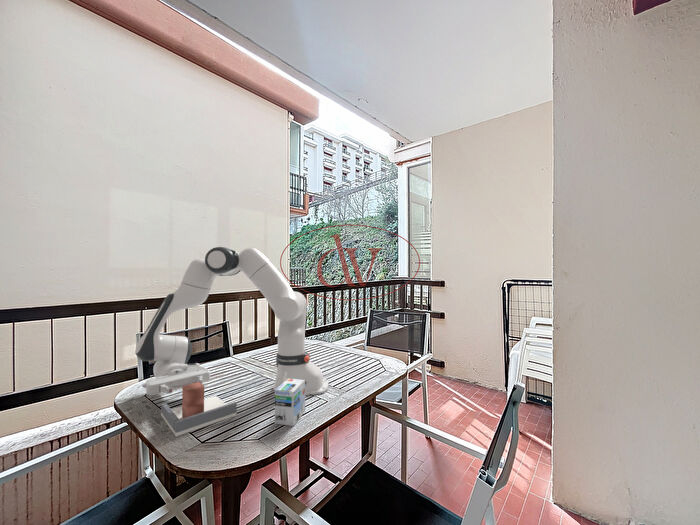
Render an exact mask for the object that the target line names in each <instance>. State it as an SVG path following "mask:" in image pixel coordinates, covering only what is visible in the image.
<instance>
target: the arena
mask: <svg viewBox="0 0 700 525" xmlns="http://www.w3.org/2000/svg"><path fill="white" fill-rule="evenodd" d="M160 405H161V406H160V407H161V408H160V416H161V417H162V419H163V421H164V422H165V423H166V425H167V426H168V428H169V429H170V430H171V432H172V433H173V434H174V436H175V437H178V436H181V435H184V434H187V433H191V432H192V431H196V430H198V429H202V428H205V427H207V426H210V425H213V424H216V423H218V422H222V421H225V420H226V419H227V420H228V419H231V418H232V417H236V416H237V413H238V412H237V402H231V403H228V404H227V403H225V402H224V401H223V400H222V399H221V398H219V397H218V396H217V395H214V396H211V397H207V398H204V412H202V413H199V414H196V415H193V416H190V417H186V418H182V405H180V406H177V407H173V408H171V407H170V406H169V404H168V403H167V402H161V404H160Z"/></svg>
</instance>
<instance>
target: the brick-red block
mask: <svg viewBox="0 0 700 525" xmlns="http://www.w3.org/2000/svg"><path fill="white" fill-rule="evenodd" d="M181 390H182V396H181V397H182V398H181V399H182V401H181V402H182V403H181V406H182V418H186V417H190V416H193V415H196V414H199V413H202V412H204V399H205V385H204V384H203V383H202V384H201V383H200V382H196V383H192V384H188V385H184V386H183V387H182V388H181Z"/></svg>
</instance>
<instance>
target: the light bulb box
mask: <svg viewBox="0 0 700 525" xmlns="http://www.w3.org/2000/svg"><path fill="white" fill-rule="evenodd" d="M305 412H306V395H305V380H298V379H289V378H288V379H287V380H286V381H285V382H283V383H282V384H281V385H280V386H279V387H278V388H277V389H276V390H274V425H282V426H288V427H289V426H291V427H294V426H295V425H296V424H297V423H298V421H299V420H300V418H301V417H302V416H303V415H304V414H305Z"/></svg>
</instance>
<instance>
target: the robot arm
mask: <svg viewBox="0 0 700 525" xmlns="http://www.w3.org/2000/svg"><path fill="white" fill-rule="evenodd" d="M240 272H242V273H244V274H245V275H246V276H247V278H248V279H249V281H251V282H252V283H253V285H254V286H255V287H256V289H258V290H259V291H260V293H261V294H262V295H263V297H264V298H265V300H266V302H267V303H268V305H269V306H270V308H271V309H272V311H273V312H274V315H275V317H276V318H277V319H278V320H279V325H278V332H277V353H276V357H275V363H276V376H275V381H274V383H273V384H274V385H273V388H272V389H273V390H274V391H275V390H276V389H277V388H278V387H279V386H280V385H281V384H282V383H283V382H285V381H286V380H287V379H288V378H289V379H298V380H305V396H308V395H309V396H310V394H311V395H322V394H324V393H326V392H327V391H328V389H329V381H328V380H327V378H324V376H323V371H322V369H321V368H320V367H318V366H317V365H316V364H314V363H313V362H312V361H310V358H311V357H310V356H311V355H310V352H307V351H305V350H306V345H305V344H306V339H305V338H306V336H305V334H306V323H307V311H308V310H307V307H308V306H307V302H308V301H307V299H306V296H304V294H303V293H301V292H300V291H294V290H293V289H292V287H291V286H290V284H289V283H288V282H287V280H286V278H285V277H284V275H283V274H282V273H281V272H280V271H279V269H277V267H276V266H275V265H274V264H273V263H272V261H270V260H269V258H268V257H267V256H266V255H265V254H263V253H262V252H261V251H260V250H258V249H257V248H255V247H246V248H245V249H243V250H241V251H240V252H237V251H236V250H233V249H231V248H228V247H223V246H217V247H213V248H211V249H209V250H208V251H207V252H206V255H205V257H204V258H196V259H193V260H191V262H190V263H189V265H188V267H187V268H186V271H185V272H184V274H183V277H182V280H181V282H180V285H179V286H178V288H177V289H176V290H175V291H174V292H172V293H169V294H167V295H166V297H165V298H164V299H163V301H162V302H161V304H160V306H158V309H157V311H156V312H155V314H154V316H153V317H152V319H151V320H150V322H149V324H148V326H147V328H146V329H145V331H144V332H143V334H142V336H141V337H140V339H138V341H137V343H136V346H135V352H134V353H135V356H136V357H137V358H138V359H140V360H141V361H142V362H152V361H156V362H155V363H154V365H153V370H152V371H153V375H154V377H153V378H148V379H147V380H146V382H142V384H141V386H142V388H143V389H144V388H145V394H146V395H147V396H155V395H159V394H164V393H166V394H167V395H168V394H171V393H173V391H174V390H178V389H182V387H183V386H184V385H188V384H192V383H196V382H200V383H201V384H202V385H203V383H207V382H210V380H211V371H210V369H208V368H207V367H205V366H202V365H201V364H200V363H198V362H195V363H188V362H189V360H190V358H191V355H192V352H193V351H192V350H193V345H192V343H191V340H190V339H189V338H188V337H187V336H181V335H170V334H169V335H168V334H160V333H161V331H162V329H163V328H164V326H165V325H166V322H167V321H168V318H169V317H170V315H172V314H174V313H176V312H178V311H182V310H186V309H193V308H195V307H198V306H201V305H202V304H203V303H205V302H206V301H207V299H208V297H209V295H210V292H211V289H212V286H213V283H214V280H215V278H217V277H218V276H219V277H223V276H225V277H227V276H228V277H229V276H230V277H231V276H235V275H237V274H239V273H240ZM326 390H327V391H326ZM321 393H322V394H321Z"/></svg>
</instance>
